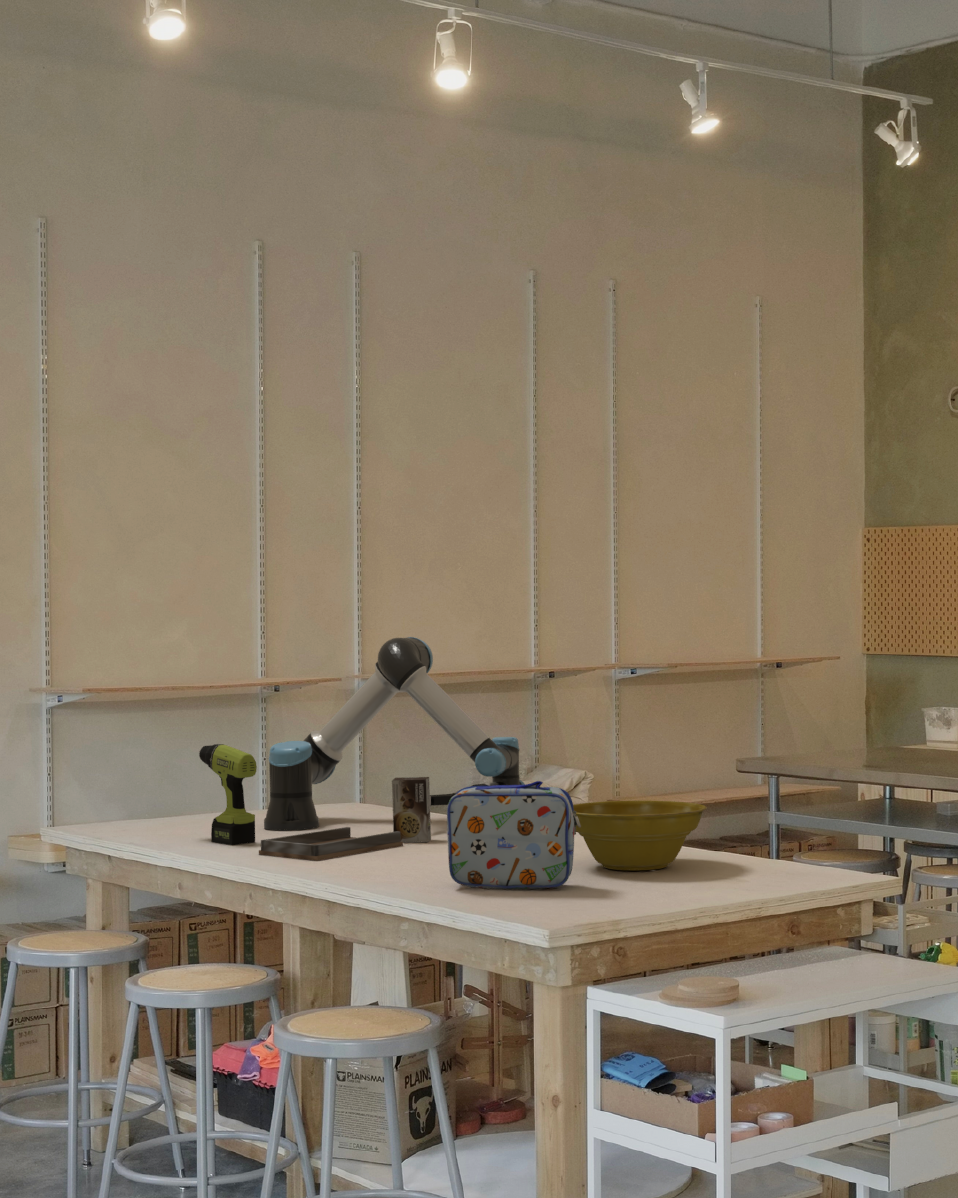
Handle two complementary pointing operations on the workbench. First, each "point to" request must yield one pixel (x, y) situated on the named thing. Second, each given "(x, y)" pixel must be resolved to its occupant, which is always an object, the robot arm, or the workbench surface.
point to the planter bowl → (636, 831)
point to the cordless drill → (231, 793)
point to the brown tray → (327, 844)
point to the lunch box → (511, 836)
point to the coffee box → (411, 808)
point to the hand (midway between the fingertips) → (433, 805)
